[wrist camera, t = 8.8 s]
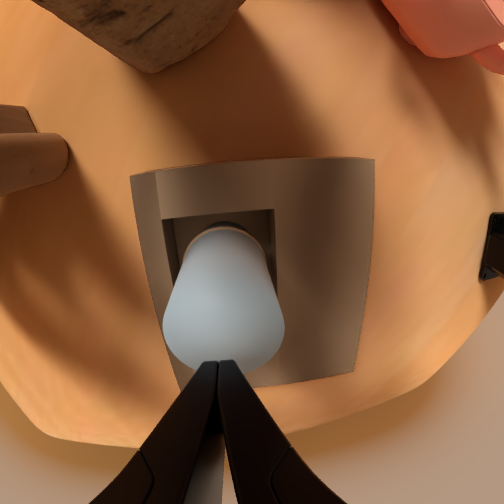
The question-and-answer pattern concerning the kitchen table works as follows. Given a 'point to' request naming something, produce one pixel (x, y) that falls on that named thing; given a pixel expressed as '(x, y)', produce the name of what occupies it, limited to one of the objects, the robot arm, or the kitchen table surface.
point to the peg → (224, 301)
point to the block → (146, 26)
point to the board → (273, 248)
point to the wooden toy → (27, 152)
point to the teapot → (453, 28)
